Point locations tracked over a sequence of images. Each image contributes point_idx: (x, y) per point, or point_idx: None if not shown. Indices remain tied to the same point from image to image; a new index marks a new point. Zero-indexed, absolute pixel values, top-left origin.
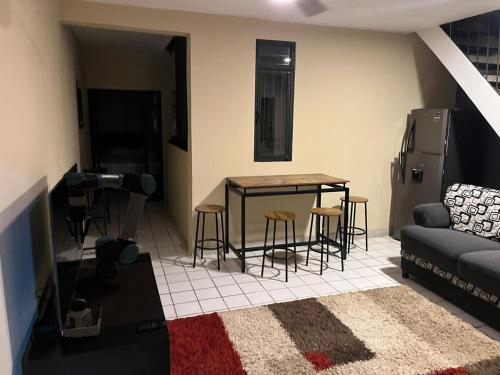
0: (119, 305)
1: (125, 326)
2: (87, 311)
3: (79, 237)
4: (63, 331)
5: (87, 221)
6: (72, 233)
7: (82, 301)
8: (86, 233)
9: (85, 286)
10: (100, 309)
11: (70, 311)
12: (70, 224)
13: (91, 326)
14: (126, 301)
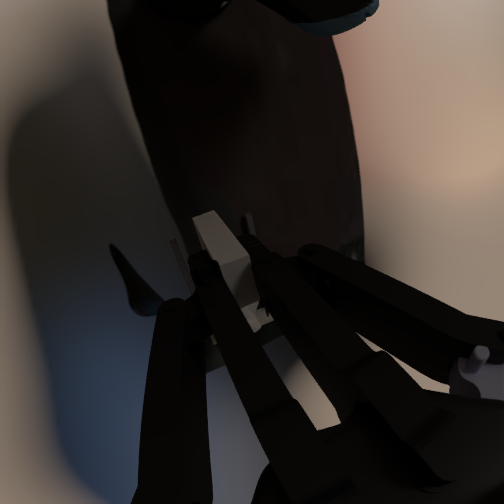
0: (285, 190)
1: None
2: (254, 311)
3: (249, 301)
4: (216, 342)
5: (437, 378)
6: (200, 361)
7: (255, 334)
8: (330, 295)
9: (144, 76)
10: (251, 233)
11: (177, 254)
12: (198, 453)
13: (264, 320)
14: (297, 168)
